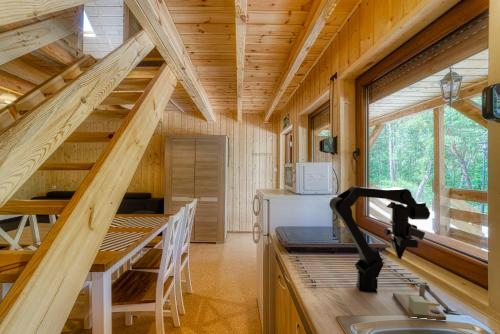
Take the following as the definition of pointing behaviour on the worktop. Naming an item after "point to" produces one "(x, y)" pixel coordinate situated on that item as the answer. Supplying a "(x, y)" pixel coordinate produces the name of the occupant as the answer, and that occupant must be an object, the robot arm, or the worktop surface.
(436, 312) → the board
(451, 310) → the tactical tomahawk
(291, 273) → the worktop surface
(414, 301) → the pointer block
